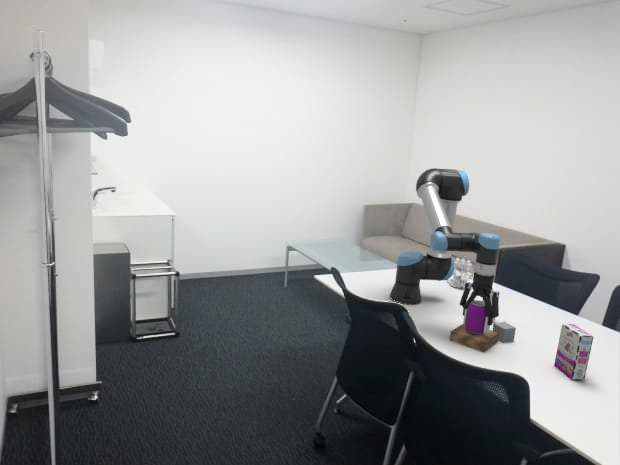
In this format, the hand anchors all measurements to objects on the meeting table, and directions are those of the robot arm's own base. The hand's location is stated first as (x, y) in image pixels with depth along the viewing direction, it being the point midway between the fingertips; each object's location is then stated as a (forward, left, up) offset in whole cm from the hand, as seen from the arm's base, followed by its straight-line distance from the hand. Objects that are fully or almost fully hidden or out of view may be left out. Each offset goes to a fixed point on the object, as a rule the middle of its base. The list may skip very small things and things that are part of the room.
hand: (475, 328), depth 194 cm
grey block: (+5, +13, -6) cm, 15 cm away
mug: (-11, +27, -6) cm, 30 cm away
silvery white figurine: (-48, +60, -6) cm, 77 cm away
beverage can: (0, 0, -2) cm, 2 cm away
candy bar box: (+34, +7, -6) cm, 35 cm away
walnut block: (0, 0, -6) cm, 6 cm away
